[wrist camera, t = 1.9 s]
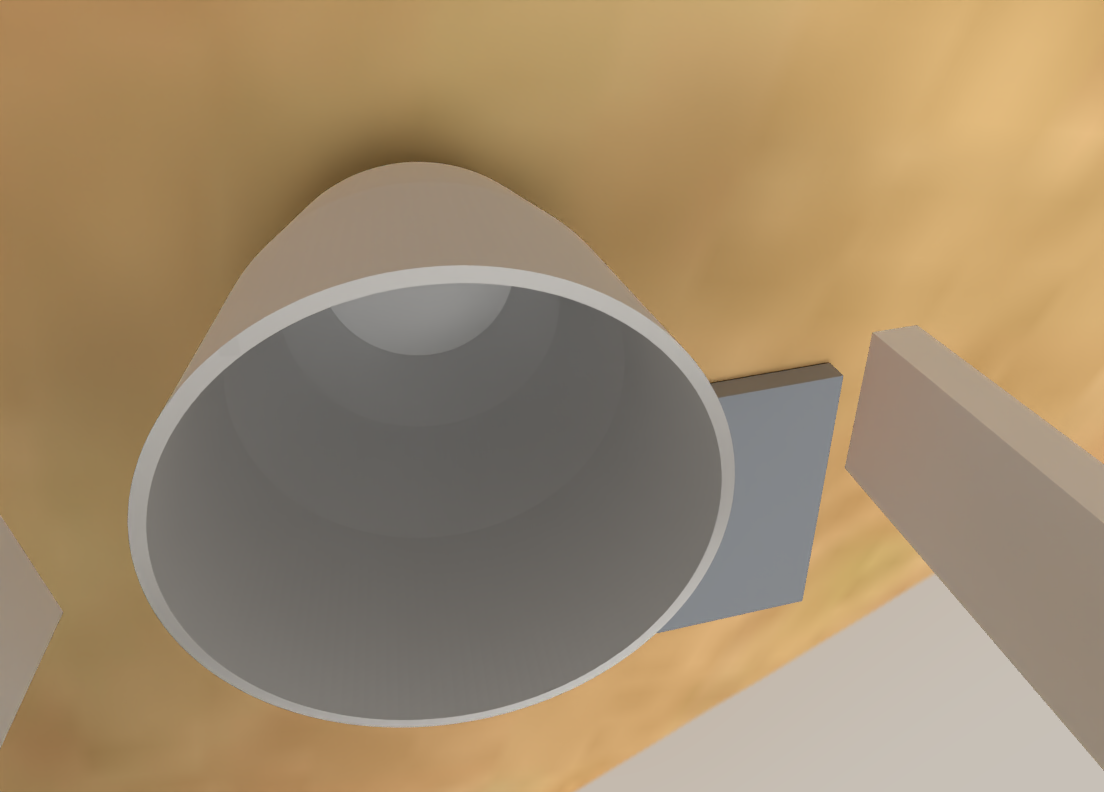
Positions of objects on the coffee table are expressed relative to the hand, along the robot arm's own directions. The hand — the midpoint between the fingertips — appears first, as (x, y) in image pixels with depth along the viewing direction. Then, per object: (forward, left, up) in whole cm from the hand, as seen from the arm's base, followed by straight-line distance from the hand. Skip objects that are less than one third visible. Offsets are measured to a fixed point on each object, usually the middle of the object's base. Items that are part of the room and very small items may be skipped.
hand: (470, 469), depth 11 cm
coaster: (+7, -10, -9) cm, 15 cm away
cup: (0, 0, -9) cm, 9 cm away
